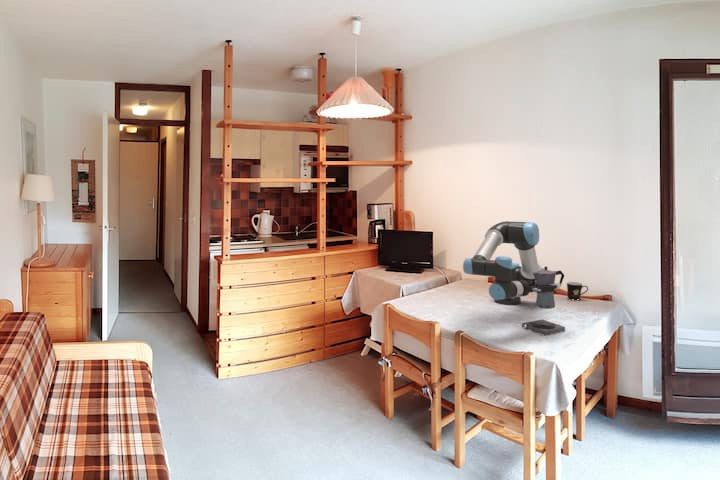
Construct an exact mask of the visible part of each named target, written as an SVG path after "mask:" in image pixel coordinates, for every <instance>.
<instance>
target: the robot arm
mask: <svg viewBox="0 0 720 480" xmlns="http://www.w3.org/2000/svg"><path fill="white" fill-rule="evenodd" d="M539 241H540V230H539V226H538V224H537V223H535V222H530V221H501V222H498V223H496V224H494V225H493V226H491V227H490V228H488V229H487V231H486V232H485V235H484V238H483V241H482V242H481V244H480V246H479V247H478V248H477V250H476V252H475V253H474V255H473V257H472V258H471V257H467V258H465V259H464V260H463V265H462V270H463V272H464V273H465V274H467V275H472V276H475V275H476V276H482V277H483V276H484V277H493V278H494V283H491V284H490V286H489V287H488V294H489V296H490V298H492V299H493V300H494V302H495V303H497V304H501V305H508V306H510V305H511V306H512V305H520V304H521V302H522V301H521V297H526V296H528V295H529V294H530V293H533V292H535V293H536V294H537V293H541V292H552V291H553V292H555V289H557V290H561V286H560V283H559V282H556V283H555V282H554V284H550V285H538V284H537V281H536V279H535V277H534V275H533V273H534V272H536V271H540V270H545V269H544V267H542V266H541V265H540V264H539V263H538V257H537V252H536V245H538V243H539ZM502 244H513V246H514V247H515V248H516V249H517V250H518V251H517V252H518V255H519V258H520V259H519V260H520V262H521V266H520V263H517V262H513V258H511V257H510V256H501V255H500V256H495V259H494V260H493V259H492V257H493V255H494V253H495V252H496V250H497V248H498V247H499V246H500V245H502Z"/></svg>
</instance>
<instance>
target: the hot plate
mask: <svg viewBox="0 0 720 480" xmlns="http://www.w3.org/2000/svg"><path fill="white" fill-rule="evenodd" d="M523 327H524V328H523ZM521 328H523V329H526V330H529V331H531V330H532V332H534V333H537V332H538V333H537V334H540V333H541V334H540V335H542V334H544V335H543V336H547V334H548V335H552V334H551V333H553V334H556V333H555V332H558V333H561V332H560V331H562V332H565V331H566V326H563V325H560V324H557V323H555V322H552V321H548V320H545V319H539V320H538V319H537V320H532V321H527V322H522V323H521ZM564 330H565V331H564Z"/></svg>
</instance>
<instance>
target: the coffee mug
mask: <svg viewBox="0 0 720 480" xmlns="http://www.w3.org/2000/svg"><path fill="white" fill-rule="evenodd" d="M584 287H586V290H585V291H584V292H582V289H583V288H584ZM566 289H567V299H568V298H569V299H574V300H577V299H579V300H580V298H581V296H582V295H584V294H585V293H587V292H588V290H589V287H588V286H587V285H583V283H582V282H577V281H568V282H566ZM569 299H568V300H569Z"/></svg>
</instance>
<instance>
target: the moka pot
mask: <svg viewBox="0 0 720 480" xmlns="http://www.w3.org/2000/svg"><path fill="white" fill-rule="evenodd" d="M548 267H549V266H544V267H543V269H545V270H540V271H536V272H534V273H533V275H534V277H535V279H536V281H537V284H538V285H550V284H555V281H556V276H558V275H561V277H560V280H559V282H558V283H560V287H561V286H562V283H563V281H564V279H565V274H564V272H563V271H562V270H548ZM555 290H556V291H557V290H558V289H555ZM555 290H554V291H555ZM554 291H552V292H541V293H537V292H536V300H535V307H536V308H539V309H554V308H555V307H556V303H555V302H556V301H555V296H554V295H555V293H554Z"/></svg>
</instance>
